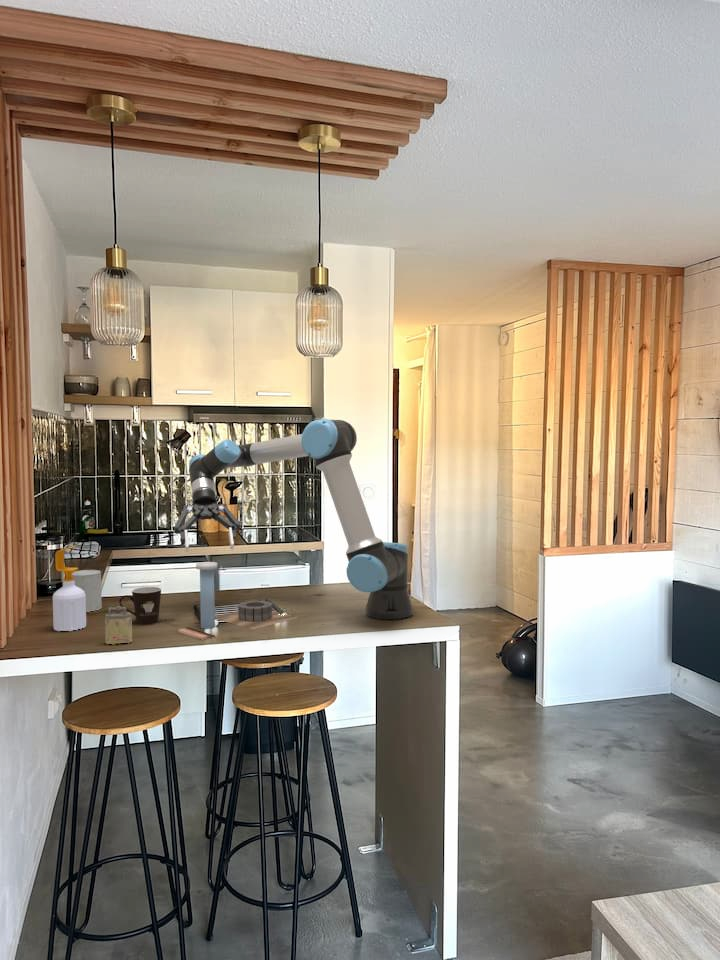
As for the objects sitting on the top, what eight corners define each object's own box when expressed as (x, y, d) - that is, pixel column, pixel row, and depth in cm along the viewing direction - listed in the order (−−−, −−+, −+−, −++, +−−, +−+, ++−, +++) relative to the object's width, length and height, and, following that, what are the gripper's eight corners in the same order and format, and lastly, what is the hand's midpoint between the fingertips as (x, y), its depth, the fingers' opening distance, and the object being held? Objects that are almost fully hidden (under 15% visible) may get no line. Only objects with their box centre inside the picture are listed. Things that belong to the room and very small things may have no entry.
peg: (222, 628, 205) (221, 563, 204) (205, 633, 201) (204, 566, 199) (210, 625, 209) (209, 561, 208) (193, 629, 205) (192, 563, 203)
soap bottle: (76, 632, 204) (74, 548, 203) (47, 631, 205) (44, 548, 204) (92, 624, 213) (89, 543, 212) (63, 623, 214) (61, 543, 213)
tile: (237, 631, 205) (237, 628, 205) (202, 640, 196) (202, 637, 196) (212, 624, 213) (212, 621, 213) (178, 632, 204) (178, 629, 204)
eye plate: (299, 622, 215) (299, 604, 215) (252, 634, 202) (252, 615, 201) (257, 611, 228) (257, 594, 228) (211, 622, 215) (211, 604, 215)
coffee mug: (165, 618, 220) (164, 586, 219) (156, 625, 211) (156, 593, 211) (128, 618, 220) (127, 586, 220) (118, 625, 212) (117, 592, 211)
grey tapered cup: (78, 605, 237) (77, 569, 236) (106, 606, 236) (105, 569, 236) (65, 612, 227) (64, 575, 226) (94, 613, 227) (93, 575, 226)
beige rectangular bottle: (133, 640, 196) (132, 605, 196) (131, 644, 193) (130, 608, 192) (106, 641, 195) (105, 606, 194) (104, 645, 191) (103, 609, 191)
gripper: (241, 501, 236) (249, 552, 222) (163, 504, 228) (167, 557, 215) (243, 486, 230) (251, 538, 217) (164, 489, 223) (168, 542, 209)
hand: (210, 548), depth 216 cm, fingers open, 13 cm apart
